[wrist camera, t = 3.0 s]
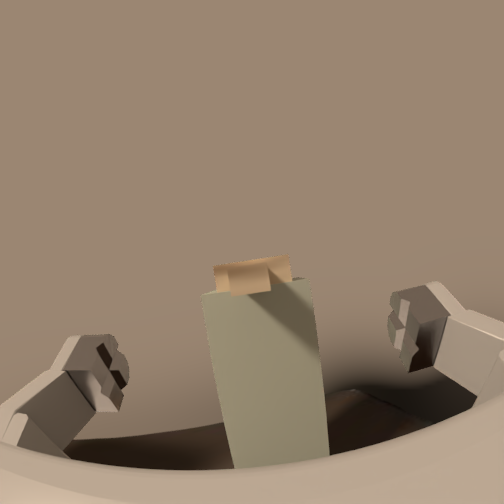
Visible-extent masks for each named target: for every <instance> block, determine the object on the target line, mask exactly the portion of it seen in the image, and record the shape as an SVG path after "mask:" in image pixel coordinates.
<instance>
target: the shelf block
mask: <svg viewBox="0 0 504 504" xmlns="http://www.w3.org/2000/svg"><path fill="white" fill-rule="evenodd" d="M270 286H271V291H266V292H259V293H253V294H246V295H239V296H232V297H231V292H230V291H225V292H219V293H217V290H214V291H211V292H209V293H206V294H203V295H201V301H202V308H203V314H204V320H205V326H206V332H207V337H208V343H209V348H210V354H211V360H212V365H213V370H214V375H215V380H216V386H217V390H218V396H219V400H220V405H221V410H222V415H223V419H224V424H225V429H226V433H227V438H228V442H229V446H230V451H231V455H232V459H233V463H234V467H235V469H239V468H251V467H261V466H270V465H278V464H285V463H292V462H299V461H305V460H310V459H316V458H321V457H326V456H330V454H329V442H328V430H327V419H326V408H325V398H324V389H323V380H322V371H321V363H320V354H319V346H318V338H317V330H316V323H315V315H314V308H313V301H312V295H311V288H310V281H309V279H308V278H299V277H298V278H292V281H290V282H284V283H278V284H272V285H270Z"/></svg>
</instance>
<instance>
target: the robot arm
mask: <svg viewBox="0 0 504 504" xmlns="http://www.w3.org/2000/svg"><path fill="white" fill-rule="evenodd" d="M390 305H391V307H392V309H393V311H392V312H391V314H390V315H389V317H388V333H389V337H390V340H391V342H392V344H393V346H394V347H395V348H397V349H399V350H401V353H400V359H401V361H402V362H403V364H404V366H405V368H406V370H407V372H408V373H410V372H413V371H417V370H420V369H424V368H427V367H431V366H434V368H436V369H437V370H439V371H440V372H442V373H443V374H445V375H447V376H448V377H449V378H451V379H453V380H454V381H456V382H457V383H459V384H460V385H462V386H463V387H465V388H466V389H468V390H469V391H471V392H472V393H474V394H476V395H477V396H478V397H477V399H476V401H475V403H474V405H473V407H472V408H471V409H470V410H467V411H465V412H463V413H460V414H458V415H456V416H454V417H451V418H449V419H447V420H444V421H442V422H439V423H437V424H434V425H432V426H429V427H426V428H424V429H421V430H418V431H416V432H413V433H410V434H407V435H404V436H401V437H398V438H395V439H392V440H389V441H385V442H382V443H378V444H375V445H371V446H368V447H364V448H360V449H356V450H352V451H348V452H344V453H340V454H335V455H331V456H326V457H321V458H316V459H310V460H305V461H299V462H292V463H285V464H278V465H270V466H261V467H251V468H239V469H222V470H157V469H141V468H129V467H119V466H111V465H103V464H96V463H89V462H83V461H78V460H72V459H70V458H69V457H68V456H67V455H66V454H65V453H64V452H63V450H64V449H65V448H66V447H67V445H68V444H69V443H70V442H71V441H72V440H73V439H74V437H75V436H76V435H77V434H78V433H79V432H80V431H81V429H82V428H83V427H84V426H85V425H86V424H87V423H88V421H89V420H90V419H91V418H92V417H93V416H94V415H95V413H96V412H119V410H120V407H121V403H122V400H123V397H124V395H123V393H122V391H121V389H122V388H124V387H125V386H126V385H127V383H128V380H129V366H128V362H127V360H126V358H125V356H124V355H123V354H121V353H120V352H119V351H117V348H118V343H117V341H116V339H115V338H114V336H112V335H110V334H104V335H84V336H71V337H69V338H68V339H67V340H66V342H65V344H64V345H63V347H62V349H61V351H60V353H59V354H58V356H57V358H56V360H55V361H54V363H53V365H52V367H51V369H50V370H49V371H48V370H46V371H45V372H43V373H42V374H41V375H39V376H38V377H37V378H35V379H34V380H33V381H31V382H30V383H29V384H27V385H26V386H25V387H23V388H22V389H21V390H19V391H18V392H17V393H16V394H15V395H13V396H12V397H10V398H9V399H8V400H7V401H5V402H4V403H3V404H2V405H0V504H504V322H501V321H499V320H496V319H493V318H491V317H488V316H485V315H483V314H481V313H478V312H475V311H473V310H467V311H466V310H465V309H464V308H463V307H462V305H461V304H460V303H459V302H458V301H457V300H456V299H455V298H454V297H453V296H452V295H451V294H450V293H449V291H448V290H447V289H446V288H445V287H444V286H443V285H442V284H441V283H440V282H438V281H434V282H431V283H427V284H423V285H422V286H418V287H413V288H409V289H405V290H401V291H396V292H393V293H392V296H391V298H390Z"/></svg>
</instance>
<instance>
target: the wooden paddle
mask: <svg viewBox="0 0 504 504" xmlns="http://www.w3.org/2000/svg"><path fill="white" fill-rule="evenodd" d="M213 268H214V275H215V281H216V287H217V293H219V292H225V291H230V292H231V297H232V296H239V295H246V294H253V293H259V292H266V291H271V286H270V285H272V284H278V283H284V282H290V281H292V275H291V269H290V262H289V256H288V255H281V256H274V257H268V258H262V259H255V260H249V261H242V262H236V263H229V264H223V265H216V266H213Z"/></svg>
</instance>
